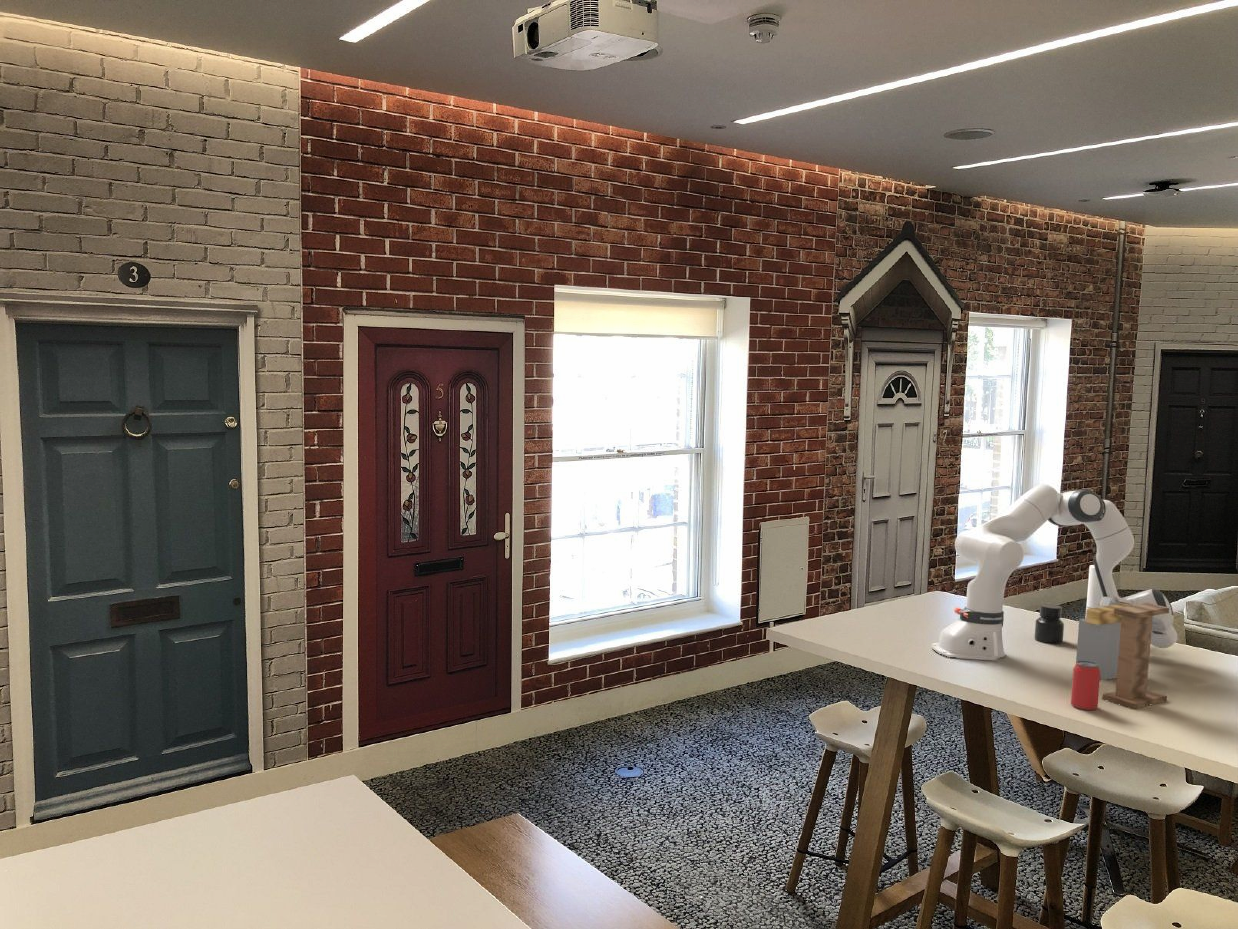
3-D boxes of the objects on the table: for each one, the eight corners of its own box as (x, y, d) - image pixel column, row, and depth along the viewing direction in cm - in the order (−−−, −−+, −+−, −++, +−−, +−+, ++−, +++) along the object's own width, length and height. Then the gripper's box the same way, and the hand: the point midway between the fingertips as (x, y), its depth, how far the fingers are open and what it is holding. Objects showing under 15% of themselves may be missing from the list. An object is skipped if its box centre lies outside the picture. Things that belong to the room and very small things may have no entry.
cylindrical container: (1109, 641, 335) (1115, 569, 333) (1087, 640, 336) (1092, 568, 334) (1103, 636, 342) (1109, 566, 340) (1081, 634, 343) (1087, 564, 341)
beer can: (1065, 702, 267) (1069, 659, 266) (1088, 702, 268) (1092, 660, 267) (1079, 711, 261) (1082, 667, 260) (1102, 711, 261) (1106, 667, 260)
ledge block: (1102, 665, 305) (1106, 614, 304) (1133, 674, 297) (1137, 622, 296) (1075, 670, 298) (1079, 619, 297) (1106, 680, 290) (1110, 627, 288)
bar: (1122, 616, 303) (1123, 603, 303) (1135, 619, 300) (1136, 606, 300) (1085, 622, 294) (1086, 609, 293) (1098, 625, 290) (1099, 611, 290)
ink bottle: (1069, 643, 331) (1072, 608, 330) (1051, 645, 327) (1053, 610, 326) (1045, 636, 340) (1048, 602, 339) (1027, 638, 336) (1030, 604, 335)
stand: (1135, 691, 279) (1142, 602, 277) (1166, 700, 272) (1174, 608, 270) (1102, 699, 271) (1109, 607, 269) (1133, 709, 263) (1141, 614, 261)
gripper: (1115, 603, 315) (1095, 585, 309) (1179, 617, 298) (1159, 598, 291) (1108, 621, 314) (1087, 603, 307) (1172, 636, 297) (1151, 617, 290)
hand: (1123, 601), depth 299 cm, fingers open, 5 cm apart
